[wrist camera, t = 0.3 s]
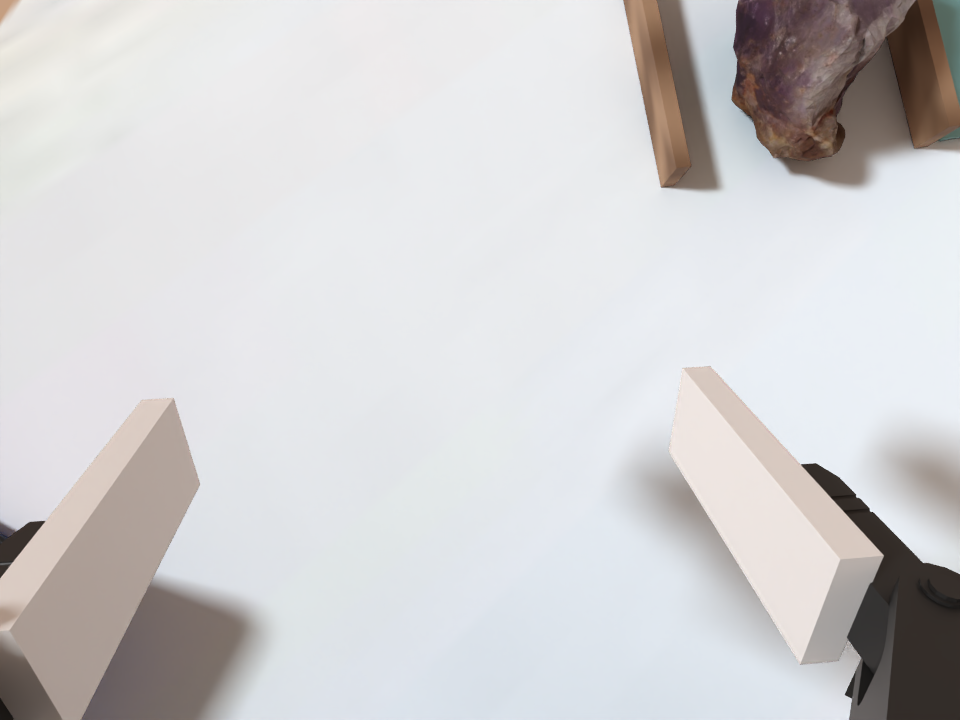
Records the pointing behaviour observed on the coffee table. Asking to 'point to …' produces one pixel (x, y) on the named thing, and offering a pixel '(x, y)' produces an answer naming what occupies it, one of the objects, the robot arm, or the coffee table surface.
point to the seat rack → (911, 52)
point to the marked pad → (950, 44)
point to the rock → (805, 66)
